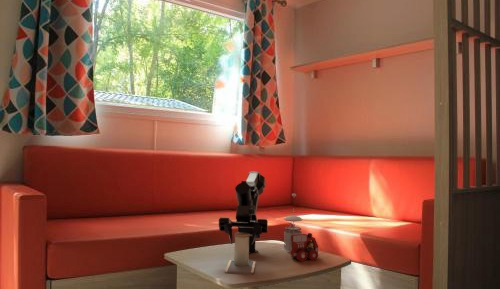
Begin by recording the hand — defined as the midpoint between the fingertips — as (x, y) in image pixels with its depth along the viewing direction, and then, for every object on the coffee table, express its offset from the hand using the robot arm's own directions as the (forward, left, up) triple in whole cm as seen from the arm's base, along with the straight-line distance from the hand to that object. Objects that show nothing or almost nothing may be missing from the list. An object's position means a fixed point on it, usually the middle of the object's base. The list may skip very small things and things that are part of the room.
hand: (241, 243), depth 160 cm
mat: (+1, 0, -9) cm, 9 cm away
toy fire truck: (-2, +30, -9) cm, 31 cm away
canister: (-1, +1, -8) cm, 8 cm away
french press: (-16, +33, -9) cm, 37 cm away
